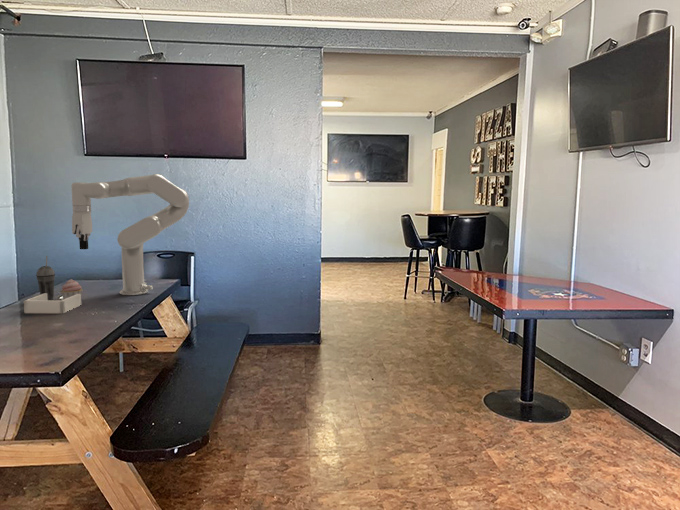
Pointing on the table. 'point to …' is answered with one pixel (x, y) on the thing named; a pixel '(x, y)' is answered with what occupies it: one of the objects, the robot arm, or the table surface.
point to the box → (51, 304)
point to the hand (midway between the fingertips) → (84, 249)
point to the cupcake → (71, 289)
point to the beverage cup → (46, 280)
